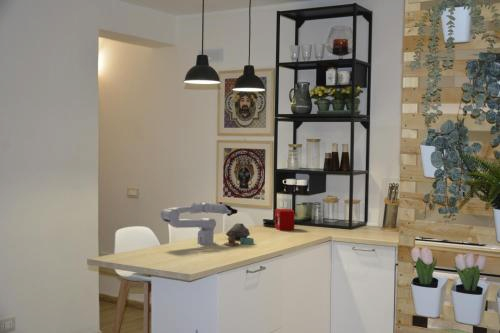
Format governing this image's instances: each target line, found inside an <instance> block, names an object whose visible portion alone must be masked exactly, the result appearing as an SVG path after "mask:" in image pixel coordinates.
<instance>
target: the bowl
mask: <svg viewBox="0 0 500 333" xmlns="http://www.w3.org/2000/svg"><path fill="white" fill-rule="evenodd" d="M239 244H240V245H242V246H244V245H245V246H247V245H248V246H250V245H251V246H252V245H254V237H247V238H240V240H239Z"/></svg>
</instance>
